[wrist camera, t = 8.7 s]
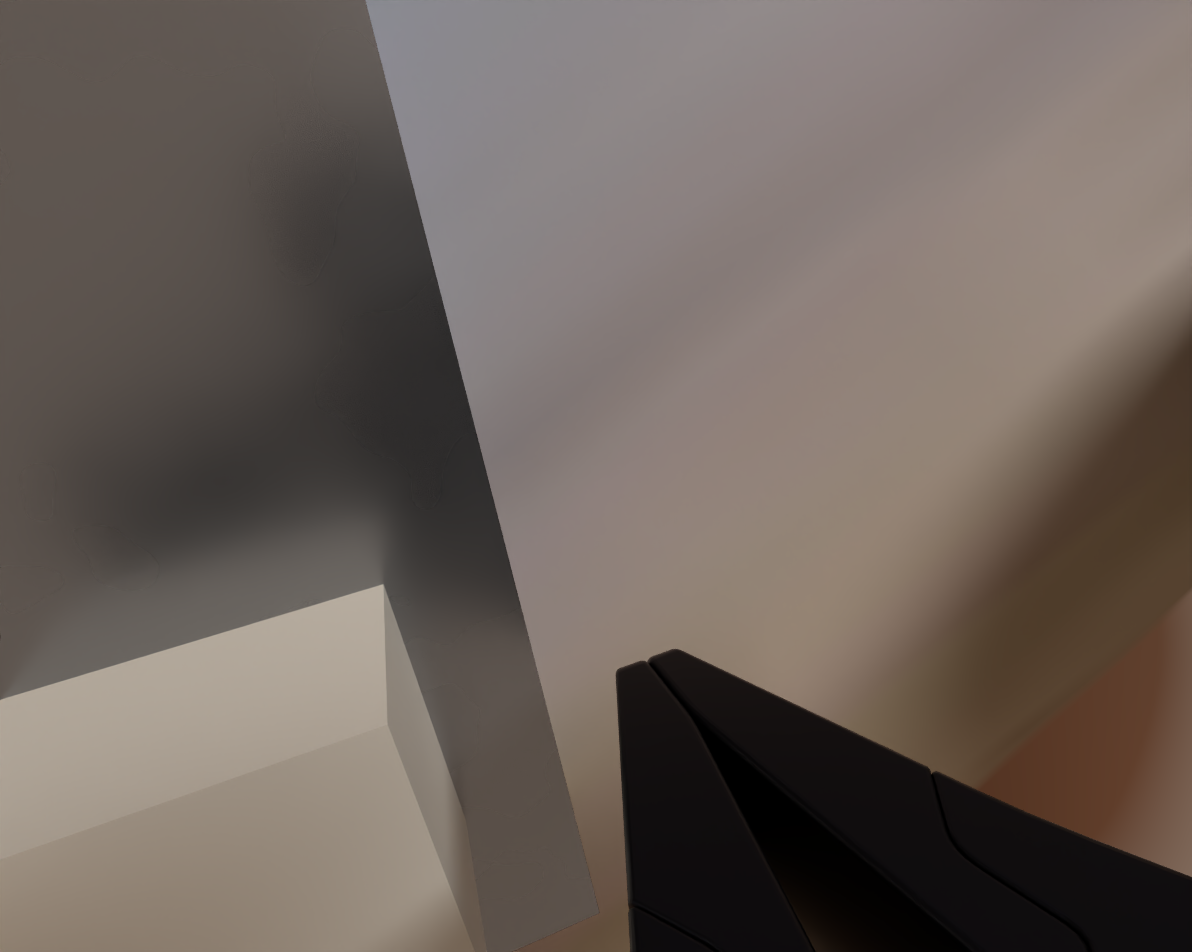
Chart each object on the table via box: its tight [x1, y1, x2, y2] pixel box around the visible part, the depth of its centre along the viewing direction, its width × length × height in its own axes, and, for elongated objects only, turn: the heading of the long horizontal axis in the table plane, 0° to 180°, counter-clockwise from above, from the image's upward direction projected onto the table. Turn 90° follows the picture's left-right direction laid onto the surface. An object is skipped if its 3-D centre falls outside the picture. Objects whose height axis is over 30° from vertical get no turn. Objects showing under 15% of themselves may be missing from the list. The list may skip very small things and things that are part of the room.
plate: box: [0, 0, 599, 952], centre depth 8 cm, size 8×18×3 cm, turn 11°
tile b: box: [0, 584, 487, 952], centre depth 7 cm, size 4×4×2 cm
